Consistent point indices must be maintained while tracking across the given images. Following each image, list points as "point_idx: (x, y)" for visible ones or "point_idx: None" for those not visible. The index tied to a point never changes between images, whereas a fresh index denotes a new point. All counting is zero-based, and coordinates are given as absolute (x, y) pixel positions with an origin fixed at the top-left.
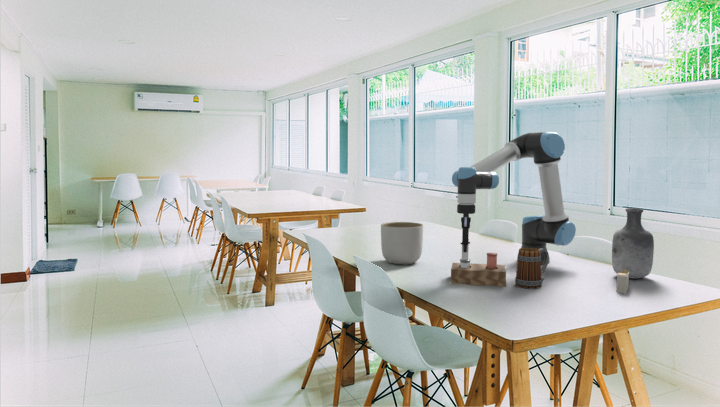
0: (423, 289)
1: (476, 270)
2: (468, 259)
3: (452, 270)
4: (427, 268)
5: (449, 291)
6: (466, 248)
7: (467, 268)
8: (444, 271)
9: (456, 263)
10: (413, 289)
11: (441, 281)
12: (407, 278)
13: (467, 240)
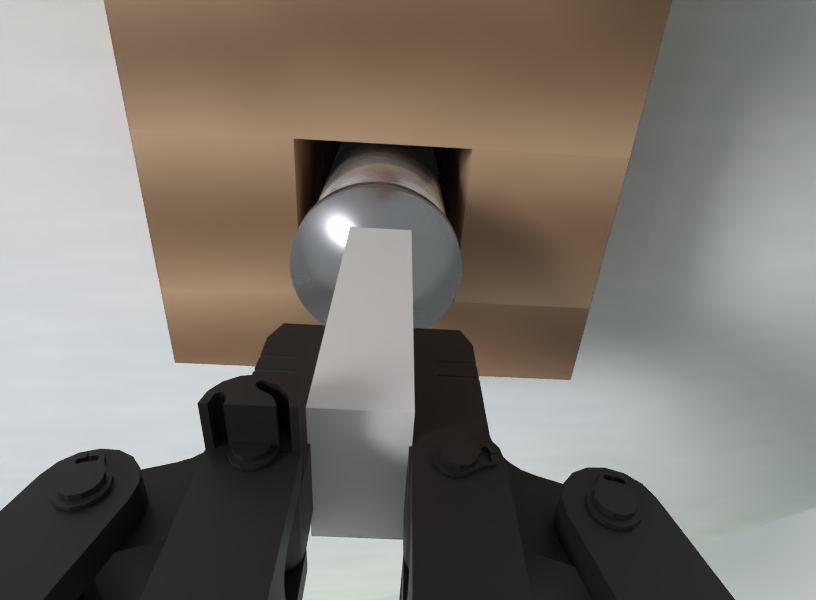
0: (712, 463)
1: (647, 70)
2: (345, 219)
3: (571, 359)
4: (5, 463)
5: (806, 306)
6: (480, 390)
7: (509, 198)
8: (52, 345)
9: (211, 323)
10: (703, 509)
11: None
12: (397, 550)
13: (705, 594)
